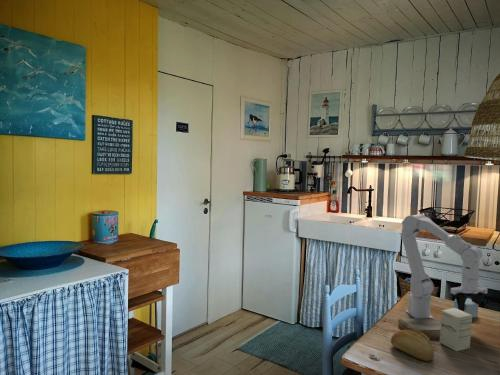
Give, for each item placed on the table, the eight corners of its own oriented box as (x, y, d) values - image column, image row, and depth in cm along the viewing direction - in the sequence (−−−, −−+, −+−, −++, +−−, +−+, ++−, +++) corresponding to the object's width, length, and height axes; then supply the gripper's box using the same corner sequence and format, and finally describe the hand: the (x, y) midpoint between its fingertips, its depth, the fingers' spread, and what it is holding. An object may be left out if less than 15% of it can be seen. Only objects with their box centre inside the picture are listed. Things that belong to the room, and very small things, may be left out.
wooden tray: (398, 325, 161) (398, 318, 160) (432, 323, 163) (432, 316, 162) (414, 338, 149) (414, 331, 149) (450, 337, 151) (451, 329, 151)
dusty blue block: (457, 312, 158) (458, 300, 157) (468, 311, 158) (469, 299, 158) (465, 317, 153) (466, 304, 152) (477, 316, 154) (478, 304, 153)
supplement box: (438, 342, 146) (440, 309, 145) (452, 339, 149) (455, 307, 148) (456, 352, 139) (458, 317, 138) (470, 348, 142) (473, 314, 141)
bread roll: (398, 341, 147) (399, 320, 146) (439, 357, 136) (440, 335, 135) (385, 349, 141) (386, 327, 140) (426, 366, 129) (428, 343, 129)
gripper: (459, 281, 149) (457, 315, 151) (494, 280, 151) (491, 314, 153) (448, 275, 156) (445, 308, 158) (481, 274, 158) (478, 307, 160)
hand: (467, 311), depth 156 cm, fingers closed on dusty blue block, 5 cm apart
